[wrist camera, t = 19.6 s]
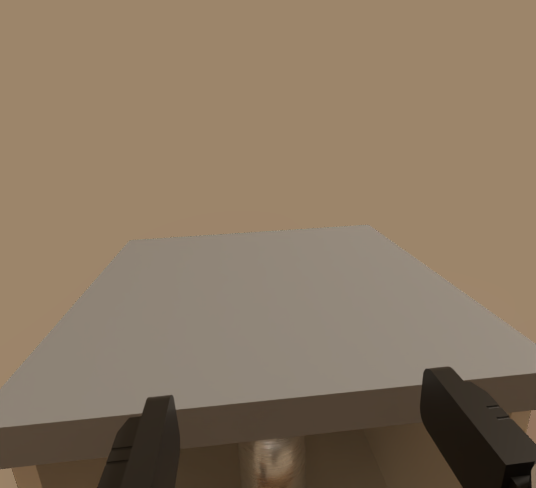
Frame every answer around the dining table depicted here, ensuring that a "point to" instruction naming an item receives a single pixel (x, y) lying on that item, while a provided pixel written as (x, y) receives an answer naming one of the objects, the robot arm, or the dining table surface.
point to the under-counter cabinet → (260, 360)
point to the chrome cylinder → (273, 463)
